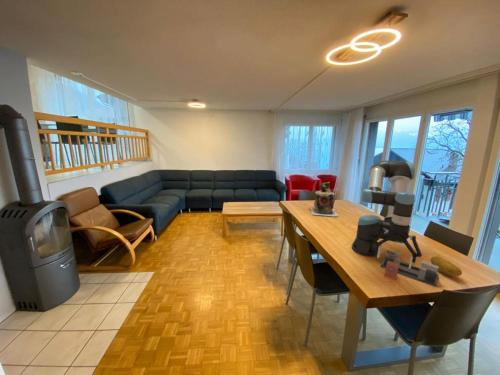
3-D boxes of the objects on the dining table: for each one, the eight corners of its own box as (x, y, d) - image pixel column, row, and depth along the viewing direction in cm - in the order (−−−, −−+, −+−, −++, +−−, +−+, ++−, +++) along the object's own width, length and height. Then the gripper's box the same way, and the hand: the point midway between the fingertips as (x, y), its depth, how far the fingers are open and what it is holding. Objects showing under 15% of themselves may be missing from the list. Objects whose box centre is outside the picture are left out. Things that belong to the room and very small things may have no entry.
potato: (450, 281, 105) (453, 268, 104) (425, 265, 119) (428, 253, 118) (463, 281, 106) (466, 268, 104) (437, 265, 120) (440, 253, 118)
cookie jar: (309, 208, 223) (311, 179, 216) (332, 209, 219) (336, 180, 213) (312, 216, 199) (315, 183, 192) (339, 217, 196) (343, 184, 189)
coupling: (394, 281, 104) (397, 269, 102) (383, 277, 107) (385, 265, 106) (397, 275, 109) (399, 263, 108) (386, 271, 113) (389, 259, 111)
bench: (380, 266, 117) (382, 253, 115) (385, 258, 125) (387, 246, 123) (436, 287, 100) (440, 272, 99) (438, 276, 109) (441, 262, 107)
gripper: (370, 218, 108) (364, 255, 112) (433, 232, 91) (424, 275, 95) (374, 215, 113) (368, 251, 117) (434, 228, 96) (425, 269, 100)
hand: (393, 262), depth 106 cm, fingers open, 13 cm apart
